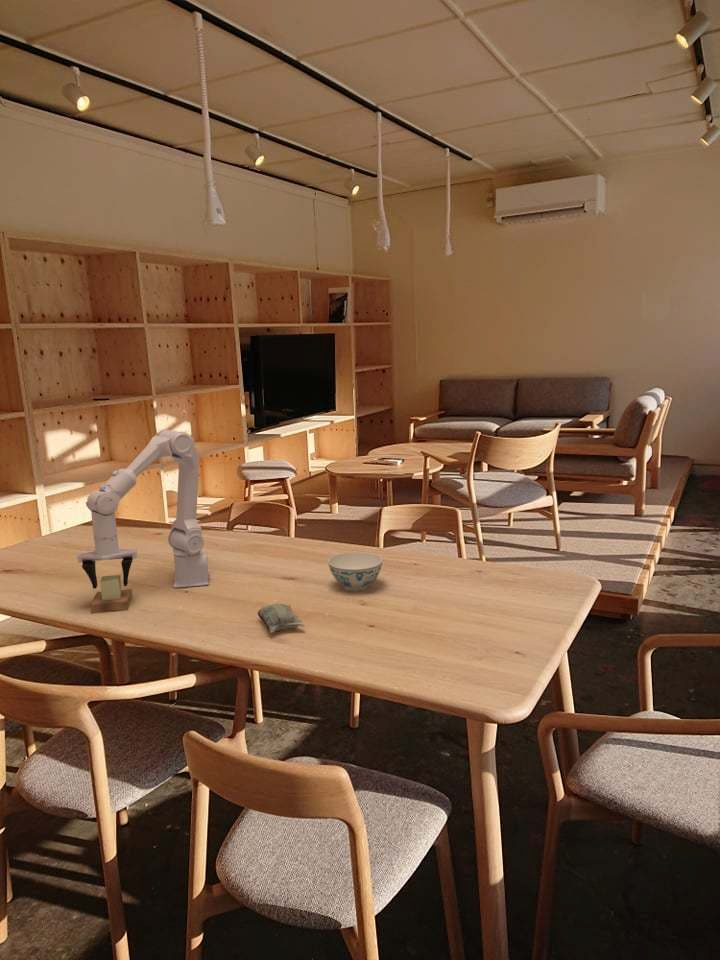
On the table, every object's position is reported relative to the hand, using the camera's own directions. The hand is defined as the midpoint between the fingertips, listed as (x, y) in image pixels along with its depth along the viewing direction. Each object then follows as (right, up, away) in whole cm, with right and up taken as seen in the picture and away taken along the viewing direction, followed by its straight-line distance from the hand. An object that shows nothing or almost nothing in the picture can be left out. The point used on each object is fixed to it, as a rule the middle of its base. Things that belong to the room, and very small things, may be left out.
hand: (110, 586), depth 183 cm
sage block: (0, -3, +1) cm, 3 cm away
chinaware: (+64, -2, +10) cm, 65 cm away
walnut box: (0, -6, +1) cm, 6 cm away
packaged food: (+46, -8, -14) cm, 49 cm away
